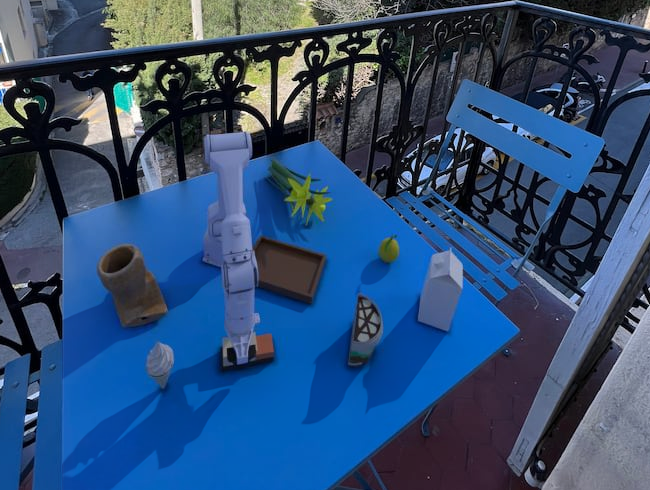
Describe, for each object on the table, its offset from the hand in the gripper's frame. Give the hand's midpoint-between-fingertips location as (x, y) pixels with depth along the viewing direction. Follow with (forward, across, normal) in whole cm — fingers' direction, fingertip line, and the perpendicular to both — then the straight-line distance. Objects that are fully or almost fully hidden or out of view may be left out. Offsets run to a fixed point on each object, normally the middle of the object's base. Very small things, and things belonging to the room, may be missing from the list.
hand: (239, 349), depth 85 cm
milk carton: (+3, +1, -47) cm, 47 cm away
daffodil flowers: (+3, +45, -19) cm, 49 cm away
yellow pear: (+3, +18, -42) cm, 46 cm away
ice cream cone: (+3, -3, +15) cm, 16 cm away
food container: (+3, -3, -27) cm, 28 cm away
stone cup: (+3, +17, +24) cm, 29 cm away
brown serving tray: (+3, +20, -13) cm, 24 cm away
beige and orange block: (+3, 0, -2) cm, 3 cm away
